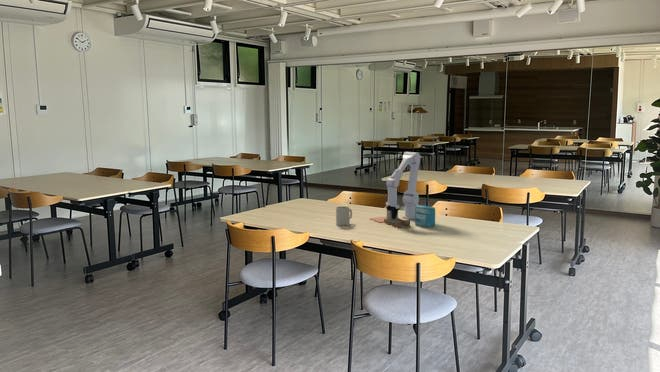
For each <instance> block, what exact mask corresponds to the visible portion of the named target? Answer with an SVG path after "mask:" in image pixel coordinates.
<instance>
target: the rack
mask: <svg viewBox="0 0 660 372" xmlns="http://www.w3.org/2000/svg"><path fill="white" fill-rule="evenodd" d="M383 223H384V224H385V225H388V224H389V225H388V226H391V225H392V226H391V227H393V226H394V228H396V227H400V228H403V227H402V226H409V227H411V219H402V218H400V217H398V221H396V222H393V221H390V220H388V219H384V222H383Z"/></svg>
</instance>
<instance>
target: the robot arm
mask: <svg viewBox="0 0 660 372" xmlns="http://www.w3.org/2000/svg"><path fill="white" fill-rule="evenodd" d="M420 162H421V154H420V152H418V151H417V152H413V151H404V153H403V155H402V161H401V162H400V164H399V166H398V168H395V170H394V171H393V173H392V174H391V176H390V177H389V178H387V179H386V182H385V185H386V189H387V201H385V209H386V212H387V211H389V210H391V212H392V219H395V218H396V215H397V212H398V213H399V210H400V205H399V204H398V187H399V185H400V181H401V178H402V177H403V175H404V172H403V171H404V170H405V169H406V167H407V166H408V165H409V167H410V169H409V177H408V185H407V190H405V191H404V193H403V195H402V199H401V200H402V202H403V204H404V216H402V218H403V217H404V219H406V218H407V219H406V220H415V207H417V206H420V205H419V202H420V197H419V195H420V194H419V193H418V192H417V191H416V190H417V183H418V176H419V167H420Z"/></svg>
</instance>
